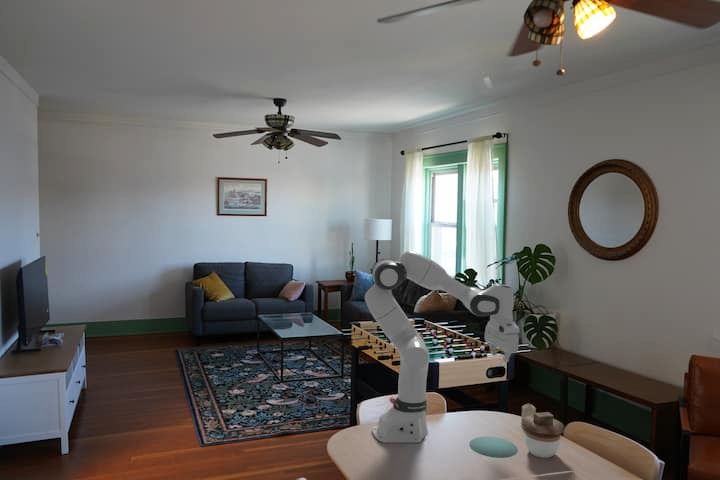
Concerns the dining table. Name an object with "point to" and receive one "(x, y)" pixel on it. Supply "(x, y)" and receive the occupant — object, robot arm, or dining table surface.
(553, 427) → the lid
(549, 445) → the lidded bowl
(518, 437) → the dining table surface
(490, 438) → the mat
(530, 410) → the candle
